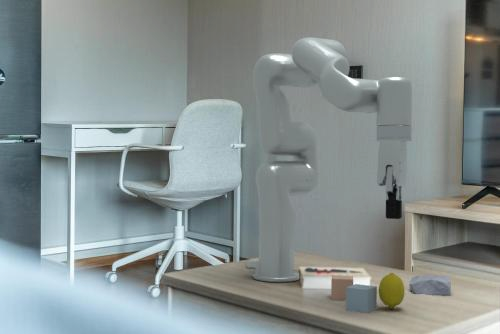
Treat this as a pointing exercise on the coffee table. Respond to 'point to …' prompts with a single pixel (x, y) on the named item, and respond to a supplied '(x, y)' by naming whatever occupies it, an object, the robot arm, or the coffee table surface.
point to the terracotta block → (340, 286)
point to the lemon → (391, 290)
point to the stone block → (430, 285)
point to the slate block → (361, 298)
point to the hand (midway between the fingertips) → (393, 218)
